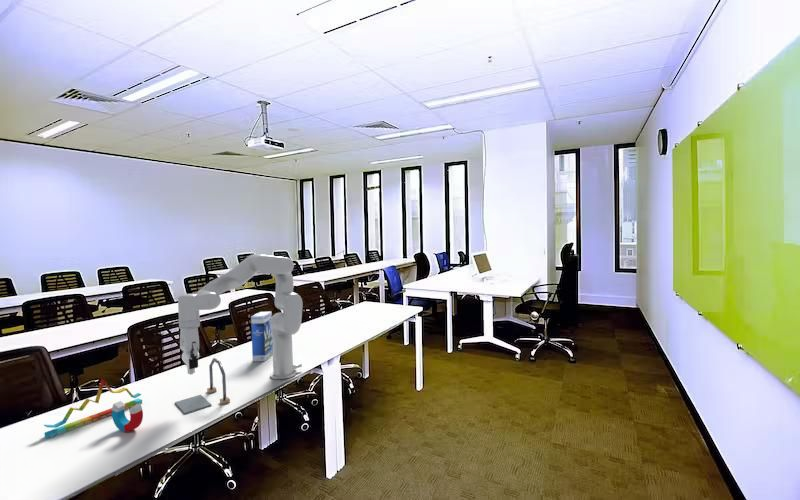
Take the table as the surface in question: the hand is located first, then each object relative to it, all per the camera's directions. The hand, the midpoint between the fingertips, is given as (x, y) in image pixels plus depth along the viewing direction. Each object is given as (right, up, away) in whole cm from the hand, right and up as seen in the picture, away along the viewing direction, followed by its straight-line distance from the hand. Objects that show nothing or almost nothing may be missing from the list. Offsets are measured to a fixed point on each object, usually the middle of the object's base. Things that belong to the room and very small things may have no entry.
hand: (191, 365), depth 154 cm
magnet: (-12, -18, -19) cm, 29 cm away
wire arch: (+7, -16, +8) cm, 19 cm away
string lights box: (+8, -14, +59) cm, 62 cm away
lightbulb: (0, -4, 0) cm, 4 cm away
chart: (-31, -18, -10) cm, 37 cm away
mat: (0, -17, +1) cm, 17 cm away
